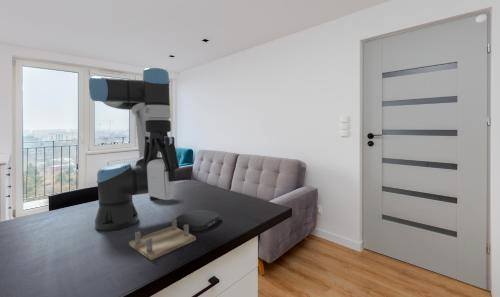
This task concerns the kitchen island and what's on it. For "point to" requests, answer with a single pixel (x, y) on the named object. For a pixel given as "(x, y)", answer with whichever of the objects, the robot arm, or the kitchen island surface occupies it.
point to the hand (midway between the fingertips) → (161, 188)
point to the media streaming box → (197, 219)
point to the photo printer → (157, 180)
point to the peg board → (162, 241)
